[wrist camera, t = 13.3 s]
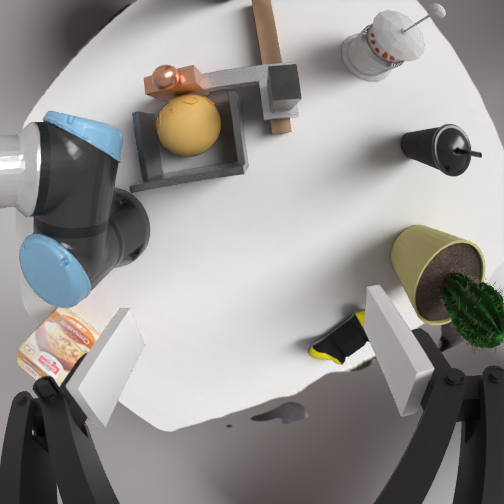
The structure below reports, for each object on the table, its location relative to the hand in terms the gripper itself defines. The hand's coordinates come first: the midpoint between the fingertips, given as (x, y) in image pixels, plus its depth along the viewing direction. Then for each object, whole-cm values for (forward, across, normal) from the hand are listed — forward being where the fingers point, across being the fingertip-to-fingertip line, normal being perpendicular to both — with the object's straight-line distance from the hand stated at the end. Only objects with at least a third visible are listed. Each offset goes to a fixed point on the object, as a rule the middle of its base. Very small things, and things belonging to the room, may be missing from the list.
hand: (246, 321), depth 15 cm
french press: (+37, +23, +24) cm, 50 cm away
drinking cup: (+37, +29, +7) cm, 47 cm away
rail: (+37, +5, +22) cm, 43 cm away
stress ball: (+37, -9, +13) cm, 40 cm away
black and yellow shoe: (+37, +15, -31) cm, 50 cm away
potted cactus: (+37, +30, -14) cm, 50 cm away
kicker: (+36, -3, +17) cm, 39 cm away
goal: (+37, -9, +11) cm, 39 cm away
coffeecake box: (+37, -48, -26) cm, 66 cm away
